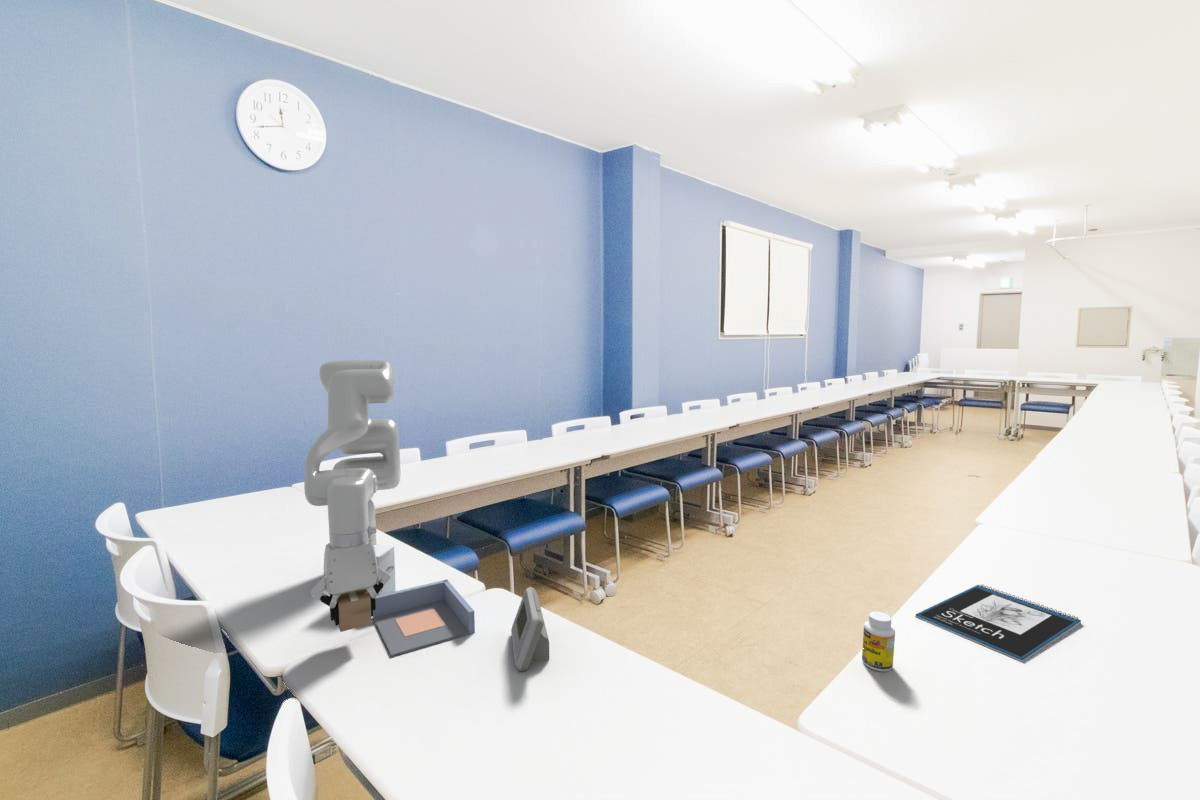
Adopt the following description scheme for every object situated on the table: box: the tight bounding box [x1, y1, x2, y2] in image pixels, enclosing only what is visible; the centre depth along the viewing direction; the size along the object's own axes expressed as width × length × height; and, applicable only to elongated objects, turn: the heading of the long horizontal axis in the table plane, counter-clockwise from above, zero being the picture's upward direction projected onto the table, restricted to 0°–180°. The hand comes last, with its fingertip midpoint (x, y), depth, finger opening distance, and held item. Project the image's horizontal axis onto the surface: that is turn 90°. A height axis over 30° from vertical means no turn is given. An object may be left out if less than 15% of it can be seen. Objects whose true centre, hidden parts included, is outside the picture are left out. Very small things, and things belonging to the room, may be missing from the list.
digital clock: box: [510, 586, 550, 672], centre depth 115 cm, size 16×9×11 cm, turn 1°
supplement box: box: [366, 544, 397, 596], centre depth 138 cm, size 7×7×13 cm
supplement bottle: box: [861, 611, 896, 672], centre depth 110 cm, size 6×6×10 cm
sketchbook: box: [914, 583, 1082, 663], centre depth 129 cm, size 22×30×2 cm
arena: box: [372, 579, 476, 658], centre depth 126 cm, size 19×18×5 cm
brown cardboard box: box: [337, 588, 373, 633], centre depth 118 cm, size 6×6×6 cm
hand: (353, 617), depth 118 cm, fingers closed on brown cardboard box, 6 cm apart
